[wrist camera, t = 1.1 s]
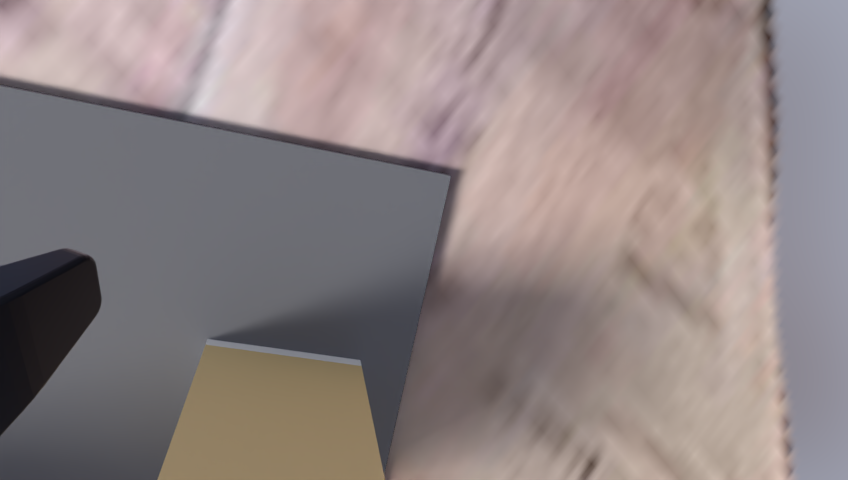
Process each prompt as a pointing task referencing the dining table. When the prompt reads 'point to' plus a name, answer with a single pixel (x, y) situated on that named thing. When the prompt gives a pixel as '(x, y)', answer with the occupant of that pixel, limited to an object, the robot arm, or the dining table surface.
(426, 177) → the charcoal mat
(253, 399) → the pale yellow block
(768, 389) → the dining table surface
